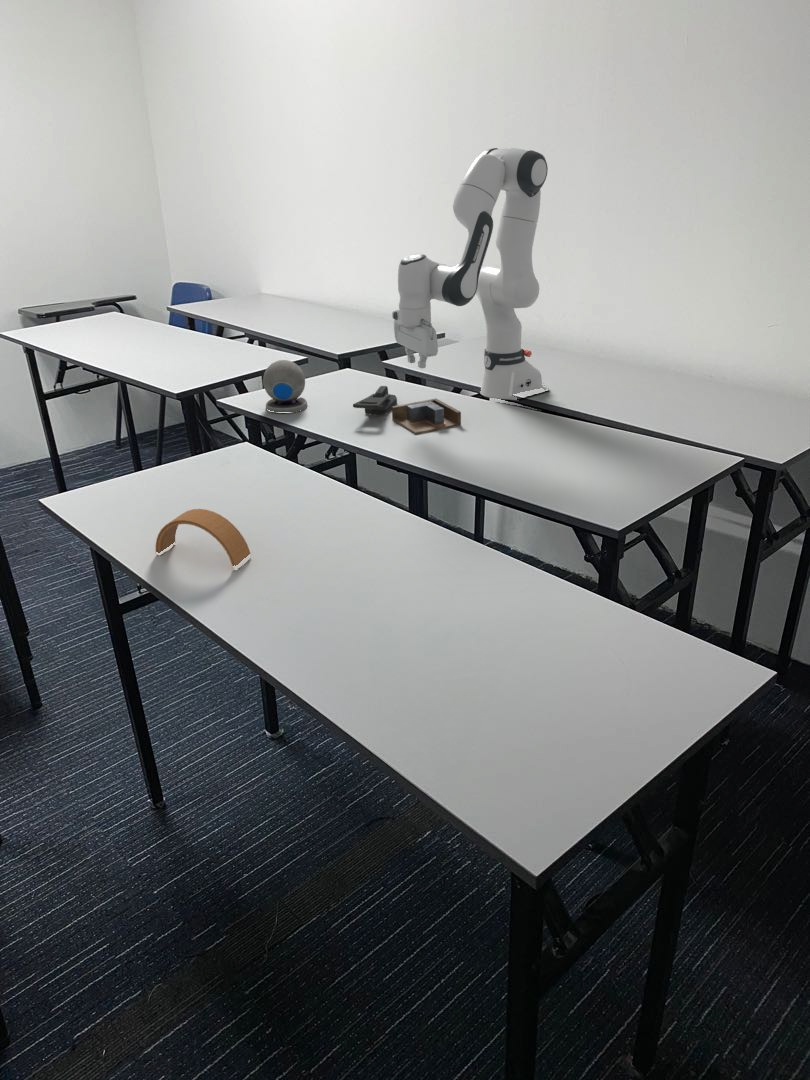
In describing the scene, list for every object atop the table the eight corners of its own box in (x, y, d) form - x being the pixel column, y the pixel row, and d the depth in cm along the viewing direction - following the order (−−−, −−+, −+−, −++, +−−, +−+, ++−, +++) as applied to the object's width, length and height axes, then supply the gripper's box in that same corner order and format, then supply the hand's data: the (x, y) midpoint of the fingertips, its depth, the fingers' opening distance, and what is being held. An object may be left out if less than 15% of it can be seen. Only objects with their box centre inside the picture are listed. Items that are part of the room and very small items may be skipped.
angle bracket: (431, 415, 245) (430, 401, 243) (444, 423, 239) (443, 408, 236) (407, 420, 242) (406, 405, 240) (419, 428, 235) (419, 413, 233)
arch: (173, 544, 177) (165, 502, 172) (251, 559, 170) (246, 516, 165) (156, 556, 172) (148, 513, 168) (236, 572, 165) (229, 528, 161)
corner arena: (436, 411, 251) (436, 398, 249) (460, 425, 239) (460, 411, 237) (392, 419, 245) (391, 406, 243) (415, 434, 233) (414, 420, 231)
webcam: (308, 400, 264) (304, 354, 257) (305, 413, 253) (301, 365, 246) (268, 402, 264) (263, 356, 257) (263, 415, 252) (258, 367, 245)
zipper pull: (350, 404, 238) (371, 380, 260) (351, 426, 241) (372, 400, 263) (379, 405, 236) (398, 380, 258) (380, 427, 239) (399, 401, 261)
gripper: (443, 321, 221) (443, 371, 227) (408, 308, 237) (410, 355, 244) (422, 325, 218) (423, 375, 225) (389, 311, 235) (391, 358, 241)
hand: (416, 365), depth 234 cm, fingers open, 5 cm apart
